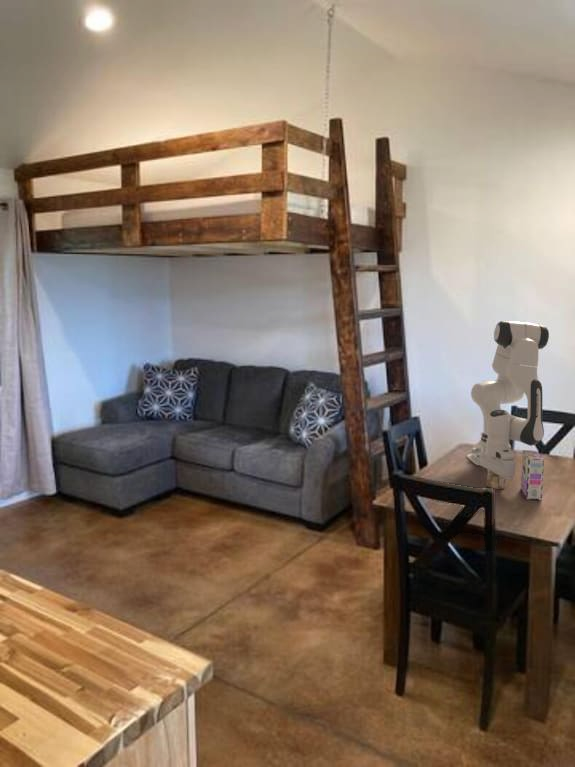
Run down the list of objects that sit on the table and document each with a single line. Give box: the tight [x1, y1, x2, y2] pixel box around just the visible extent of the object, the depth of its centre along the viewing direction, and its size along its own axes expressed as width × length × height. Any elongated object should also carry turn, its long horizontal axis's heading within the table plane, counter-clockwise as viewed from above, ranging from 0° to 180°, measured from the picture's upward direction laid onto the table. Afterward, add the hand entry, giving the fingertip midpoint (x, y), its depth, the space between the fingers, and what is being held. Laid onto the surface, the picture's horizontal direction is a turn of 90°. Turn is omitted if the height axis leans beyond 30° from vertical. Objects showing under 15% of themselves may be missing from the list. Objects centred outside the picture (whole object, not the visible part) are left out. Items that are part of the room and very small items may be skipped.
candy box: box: [520, 449, 545, 501], centre depth 244 cm, size 14×6×16 cm, turn 168°
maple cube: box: [486, 472, 506, 490], centre depth 255 cm, size 5×5×5 cm
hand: (496, 482), depth 255 cm, fingers closed on maple cube, 5 cm apart
